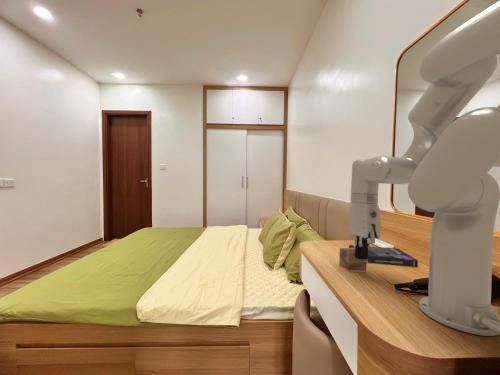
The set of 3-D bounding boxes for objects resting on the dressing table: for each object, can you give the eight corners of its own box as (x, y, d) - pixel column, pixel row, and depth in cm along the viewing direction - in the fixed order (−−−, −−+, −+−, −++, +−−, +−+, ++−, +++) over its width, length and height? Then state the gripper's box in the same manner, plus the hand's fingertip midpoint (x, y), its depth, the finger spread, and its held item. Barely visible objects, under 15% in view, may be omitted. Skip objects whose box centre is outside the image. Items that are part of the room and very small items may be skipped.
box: (357, 264, 81) (418, 269, 77) (357, 254, 81) (418, 259, 77) (348, 252, 94) (399, 256, 90) (348, 244, 94) (400, 247, 90)
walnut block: (366, 271, 71) (366, 253, 71) (348, 271, 71) (349, 253, 71) (355, 265, 77) (356, 248, 77) (339, 265, 77) (339, 247, 77)
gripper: (392, 202, 62) (389, 267, 62) (361, 198, 77) (358, 251, 77) (367, 201, 61) (364, 267, 61) (340, 197, 76) (337, 251, 76)
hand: (361, 258), depth 69 cm, fingers closed
